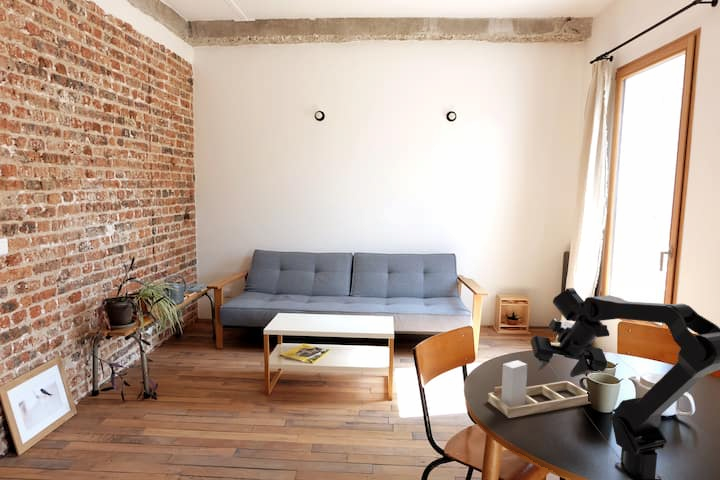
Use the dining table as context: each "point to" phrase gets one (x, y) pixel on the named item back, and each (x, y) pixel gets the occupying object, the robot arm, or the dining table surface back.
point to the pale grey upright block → (514, 383)
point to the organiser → (535, 407)
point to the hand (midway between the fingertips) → (554, 372)
